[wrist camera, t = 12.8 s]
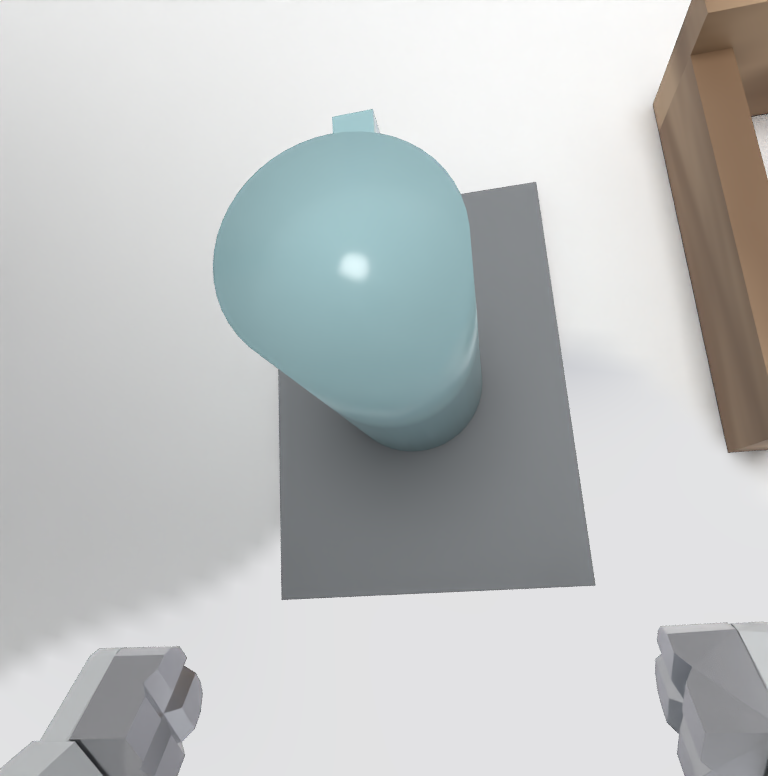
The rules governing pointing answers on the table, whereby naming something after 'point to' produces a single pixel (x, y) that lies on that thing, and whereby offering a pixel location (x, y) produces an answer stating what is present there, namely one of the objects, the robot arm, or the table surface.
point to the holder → (723, 198)
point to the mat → (449, 455)
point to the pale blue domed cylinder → (358, 282)
